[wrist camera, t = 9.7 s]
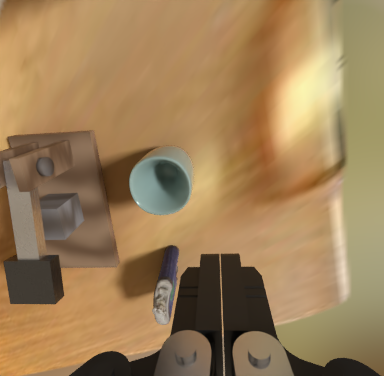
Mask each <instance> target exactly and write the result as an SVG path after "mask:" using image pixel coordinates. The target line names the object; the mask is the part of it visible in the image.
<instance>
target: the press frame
mask: <svg viewBox="0 0 384 376" xmlns="http://www.w3.org/2000/svg"><path fill="white" fill-rule="evenodd" d="M8 139H9V143H10V146H11V148H10V149H7V150H3V151H0V188H2V187H4V186H6V179H5V173H4V166H3V161H10V164H11V167H12V170H13V173H14V176H15V180H16V183H17V186H18V189H19V192H30V191H31V190H33V189H35V188H37V187H38V193H39V200H40V207H41V215H42V222H43V229H44V236H45V244H46V251H47V255H59V260H60V268H95V267H117V266H118V264H119V257H118V252H117V247H116V242H115V236H114V231H113V226H112V221H111V216H110V211H109V206H108V201H107V196H106V190H105V185H104V180H103V175H102V170H101V165H100V160H99V155H98V149H97V144H96V139H95V134H94V131H78V132H61V133H45V134H28V135H14V136H10V137H8Z"/></svg>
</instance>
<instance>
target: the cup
mask: <svg viewBox="0 0 384 376" xmlns="http://www.w3.org/2000/svg"><path fill="white" fill-rule="evenodd" d="M193 184H194V166H193V162H192V160H191V158H190V156H189V155H188V153H187V152H186V151H185V150H184V149H182V148H180V147H177V146H172V145H166V146H161V147H157V148H155V149H153V150H151V151H150V152H149V153H147V154H146V155H145V156H143V157H142V158H141V159H140V160H139V161H138V162H137V164H136V165H135V166H134V167H133V169H132V171H131V173H130V178H129V187H130V192H131V195H132V197H133V199H134V201H135V202H136V204H137V205H138V206H139V207H140V208H141V209H143V210H144V211H146V212H148V213H151V214H154V215H168V214H172V213H175V212H177V211H179V210H181V209H182V208H183V207H184V206H185V205H186V204H187V203H188V201H189V199H190V196H191V193H192V189H193Z"/></svg>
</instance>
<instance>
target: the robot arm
mask: <svg viewBox="0 0 384 376" xmlns="http://www.w3.org/2000/svg"><path fill="white" fill-rule="evenodd" d="M221 273H222V300H223V326H224V352H225V376H380V375H379V374H378V373H376V372H375V371H374V370H372V369H371V368H369V367H368V366H366V365H364V364H363V363H360V362H358V361H356V360H352V359H347V358H337V359H333V360H331V361H330V362H329V363H327V364H326V366H325V367H322V366H319V365H316V364H313V363H310V362H307V361H304V360H302V359H299V358H297V357H296V356H294V355H292V354H291V353H289V352H288V351H287V350H286V349H285V348H284V347H283V346H282V344H281V343H280V342H279V340H278V338H277V335H276V331H275V327H274V323H273V319H272V315H271V311H270V307H269V303H268V299H267V295H266V291H265V289H264V283H263V279H262V276H261V275H260V273H259V272H258V271H257V270H256V269H255V268H254V267H241V262H240V255H239V254H221ZM69 376H223V352H222V319H221V288H220V262H219V254H201V260H200V267H188V268H187V269H186V270H185V272H184V273H183V274H182V276H181V279H180V285H179V291H178V298H177V302H176V308H175V314H174V319H173V325H172V331H171V335H170V337H169V338H168V339H167V340H166V341H165V342H164V344H163V346H162V348H161V349H160V350H159V351H157V352H156V353H155V354H152V355H150V356H148V357H145V358H141V359H138V360H135V361H131V362H129V361H128V359H127V358H126V357H125V356H124V355H123V354H121V353H119V352H115V351H109V352H103V353H101V354H98V355H96V356H94V357H93V358H91V359H90V360H88V361H87V362H86V363H85V364H83V365H82V366H81V367H80V368H78V369H77V370H76V371H75V372H73V373H72V374H71V375H69Z"/></svg>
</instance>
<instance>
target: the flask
mask: <svg viewBox="0 0 384 376" xmlns="http://www.w3.org/2000/svg"><path fill="white" fill-rule="evenodd" d="M178 255H179V249H178V248H177V246H173V245H170V246H168V247H167V248H166V250H165V254H164V258H163V263H162V267H161V271H160V274H159V277H158V281H157V285H156V288H155V292H154V305H153V306H154V308H153V310H152V311H153V314H154V315H155V319H156V321H157V323H159V324H161V325H166V324H168V323H169V321H170V318H171V311H172V305H173V300H174V295H175V289H176V285H177V277H176V276H177V272H178V266H177V262H178V257H179V256H178Z"/></svg>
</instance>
